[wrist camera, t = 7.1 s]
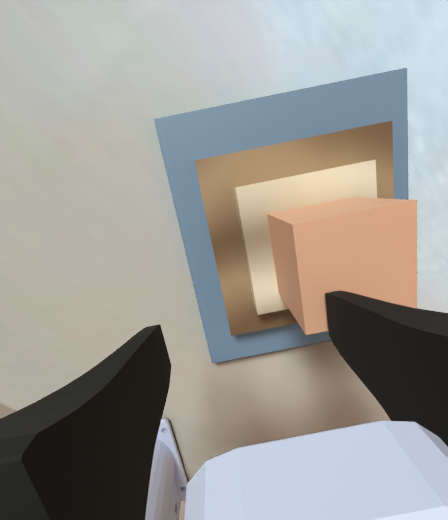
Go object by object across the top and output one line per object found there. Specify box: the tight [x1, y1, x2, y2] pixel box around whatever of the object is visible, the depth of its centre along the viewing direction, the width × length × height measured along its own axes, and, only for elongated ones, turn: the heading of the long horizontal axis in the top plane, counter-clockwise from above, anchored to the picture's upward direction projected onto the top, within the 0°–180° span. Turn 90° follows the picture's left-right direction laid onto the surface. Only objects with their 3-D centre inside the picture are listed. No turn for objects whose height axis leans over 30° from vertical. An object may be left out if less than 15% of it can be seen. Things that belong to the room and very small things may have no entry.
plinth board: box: [154, 68, 408, 363], centre depth 18 cm, size 18×16×4 cm
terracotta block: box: [267, 197, 417, 335], centre depth 14 cm, size 5×5×5 cm
